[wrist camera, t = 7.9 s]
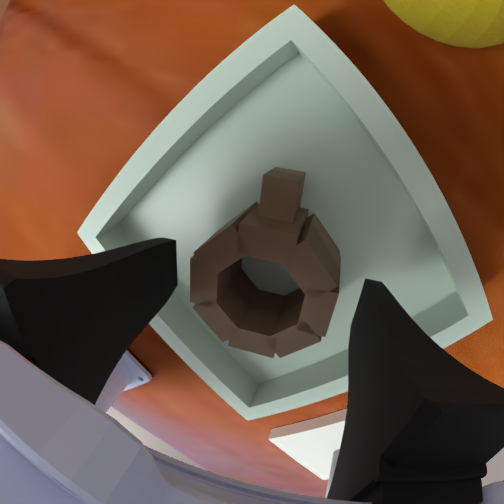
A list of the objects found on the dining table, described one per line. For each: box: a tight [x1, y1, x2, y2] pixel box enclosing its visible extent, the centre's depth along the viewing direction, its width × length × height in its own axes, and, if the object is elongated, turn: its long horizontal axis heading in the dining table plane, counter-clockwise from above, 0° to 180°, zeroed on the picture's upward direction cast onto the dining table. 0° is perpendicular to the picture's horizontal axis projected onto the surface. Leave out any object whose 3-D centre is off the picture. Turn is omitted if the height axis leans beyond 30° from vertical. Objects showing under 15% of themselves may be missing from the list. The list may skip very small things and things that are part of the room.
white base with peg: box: [269, 408, 347, 499], centre depth 16 cm, size 8×8×5 cm
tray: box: [77, 5, 493, 421], centre depth 13 cm, size 14×14×2 cm
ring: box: [190, 167, 341, 358], centre depth 12 cm, size 7×5×3 cm
